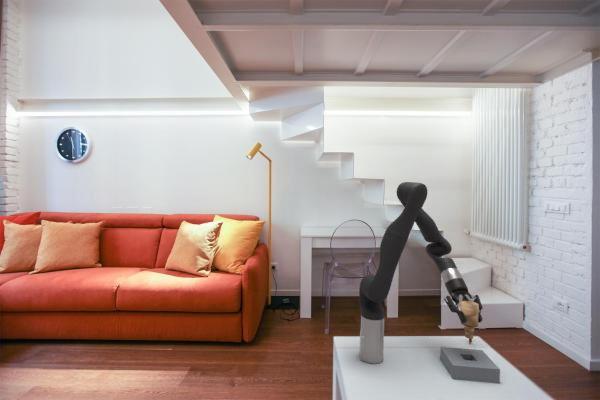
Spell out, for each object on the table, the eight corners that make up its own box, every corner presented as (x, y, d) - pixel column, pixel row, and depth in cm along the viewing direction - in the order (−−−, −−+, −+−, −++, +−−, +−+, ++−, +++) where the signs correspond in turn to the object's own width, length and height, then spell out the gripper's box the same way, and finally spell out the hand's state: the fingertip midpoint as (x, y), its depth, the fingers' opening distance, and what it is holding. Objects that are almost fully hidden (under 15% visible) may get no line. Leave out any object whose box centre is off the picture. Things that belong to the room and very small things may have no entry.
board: (452, 378, 114) (453, 365, 114) (440, 358, 128) (440, 346, 128) (499, 383, 112) (500, 369, 112) (481, 362, 126) (482, 350, 126)
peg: (463, 340, 117) (464, 305, 117) (457, 333, 123) (458, 300, 123) (480, 341, 116) (481, 306, 116) (473, 334, 122) (474, 301, 122)
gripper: (441, 277, 126) (460, 318, 114) (474, 276, 128) (495, 317, 116) (433, 286, 131) (450, 326, 119) (465, 285, 133) (484, 325, 121)
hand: (472, 321), depth 118 cm, fingers closed on peg, 5 cm apart
